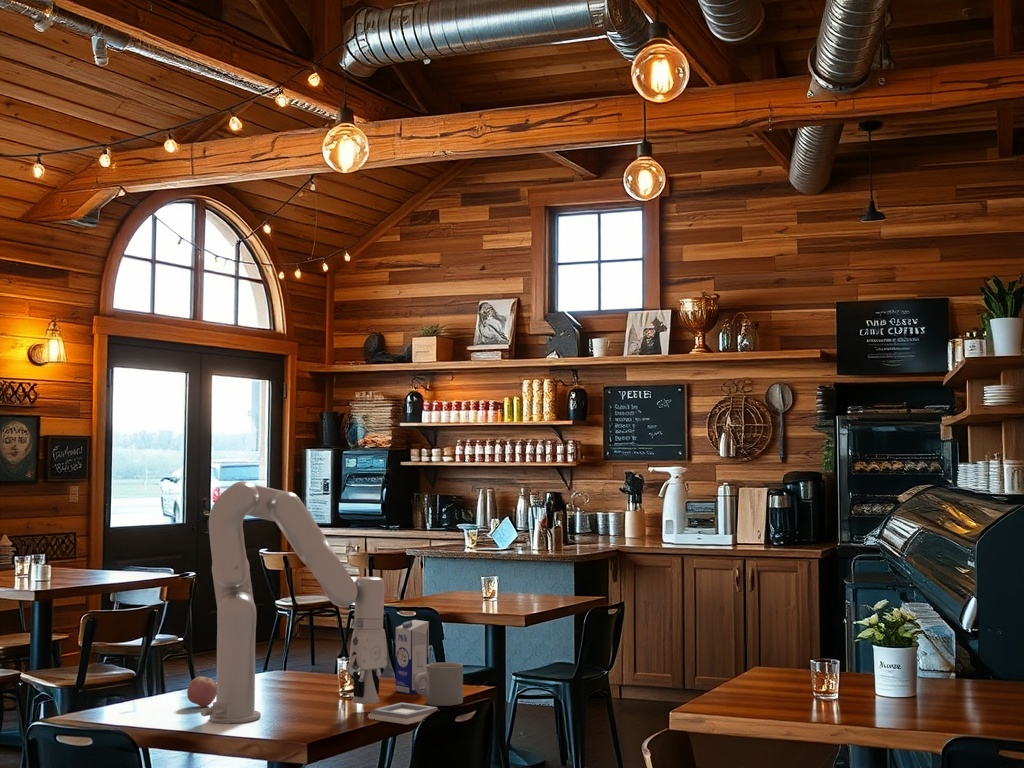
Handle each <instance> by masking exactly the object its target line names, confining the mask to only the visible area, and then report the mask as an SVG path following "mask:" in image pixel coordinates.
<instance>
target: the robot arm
mask: <svg viewBox="0 0 1024 768" xmlns="http://www.w3.org/2000/svg"><path fill="white" fill-rule="evenodd" d="M209 512H210V513H209V517H208V531H209V532H208V533H209V545H210V551H211V552H210V553H211V560H212V561H211V564H212V565H211V573H212V580H213V588H214V594H215V601H216V608H217V610H216V612H217V613H216V615H217V616H216V617H217V618H216V619H217V620H216V623H217V624H216V625H217V628H216V629H217V630H216V632H217V635H216V684H217V690H216V697H215V699H216V701H215V702H212V705H211V706H210V707H203V708H202V709H201V710H200V715H201V717H208V716H209V720H210V721H211V722H214V723H219V724H238V723H239V724H240V723H247V722H248V723H249V722H253V721H256V720H260V718H261V712H260V711H257V710H255V709H256V708H255V705H256V703H255V701H256V700H255V699H256V696H255V695H256V694H255V693H256V631H257V629H256V628H257V607H256V603H255V601H254V593H253V585H252V581H251V571H250V567H251V566H250V562H249V560H248V557H247V550H246V544H245V534H244V527H243V526H244V525H243V524H244V521H245V520H244V519H245V517H246V516H247V517H248V516H249V517H252V518H257V519H261V520H265V521H270V522H275V523H276V525H277V526H278V528H279V530H280V531H281V532H282V534H283V536H284V537H285V539H286V540H287V542H288V543H289V544H290V546H291V547H292V549H293V550H294V552H295V554H296V555H297V556H298V558H299V559H300V561H301V562H303V564H304V565H305V566H306V567H307V568H308V569H309V570H310V572H311V573H312V575H313V576H314V578H315V579H316V580H317V582H318V583H319V585H320V586H321V588H322V589H323V590H324V592H325V595H326V598H327V599H328V601H330V602H331V603H332V604H333V605H334V606H337V607H340V608H347V607H350V606H351V605H352V604H354V621H353V624H352V625H353V631H352V635H351V639H350V649H349V662H348V664H347V666H346V668H345V671H346V672H347V673H348V674H349V676H350V677H351V681H353V690H352V691H353V692H352V695H353V697H354V696H355V697H364V682H363V676H364V672H365V670H372V676H373V681H374V685H375V689H376V692H377V695H379V694H380V680H381V678H382V674H383V673H384V670H385V669H386V668H387V666H388V649H387V648H388V647H387V636H386V635H387V634H386V629H385V628H384V613H385V609H384V608H385V607H384V605H385V581H384V579H383V578H382V577H377V576H363V577H356V576H355V577H354V576H351V575H350V574H349V572H348V571H347V570H348V569H346V568H345V566H344V564H343V563H342V562H341V560H340V558H339V557H338V555H337V554H336V552H335V551H334V548H333V547H332V545H331V544H330V542H329V539H327V537H326V536H325V534H324V532H323V531H322V529H321V528H320V526H319V525H318V523H317V522H316V521H315V519H314V518H313V515H311V513H310V511H309V510H308V508H307V507H306V506H305V504H304V503H303V501H302V500H301V498H300V497H299V496H298V495H297V494H296V493H294V492H291V491H286V490H281V489H276V488H271V487H266V486H263V485H258V484H256V483H255V484H254V483H252V482H248V481H244V480H243V481H242V480H241V481H237V482H234V483H233V484H231V485H230V486H228V487H227V488H226V489H225V490H224V491H222V492H221V493H220V495H219V496H218V497H217V498H216V500H215V501H214V503H213V505H212V507H211V509H210V511H209Z"/></svg>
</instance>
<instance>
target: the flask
mask: <svg viewBox="0 0 1024 768" xmlns="http://www.w3.org/2000/svg"><path fill="white" fill-rule="evenodd" d="M363 682H364V697H355V696H353V698H352V703H353V704H361V705H373V704H374V705H375V704H379V703H380V698H379V696H378V695H379V694H378V695H377V692H376V689H375V685H374V681H373V676H372V670H365V672H364V676H363Z"/></svg>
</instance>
